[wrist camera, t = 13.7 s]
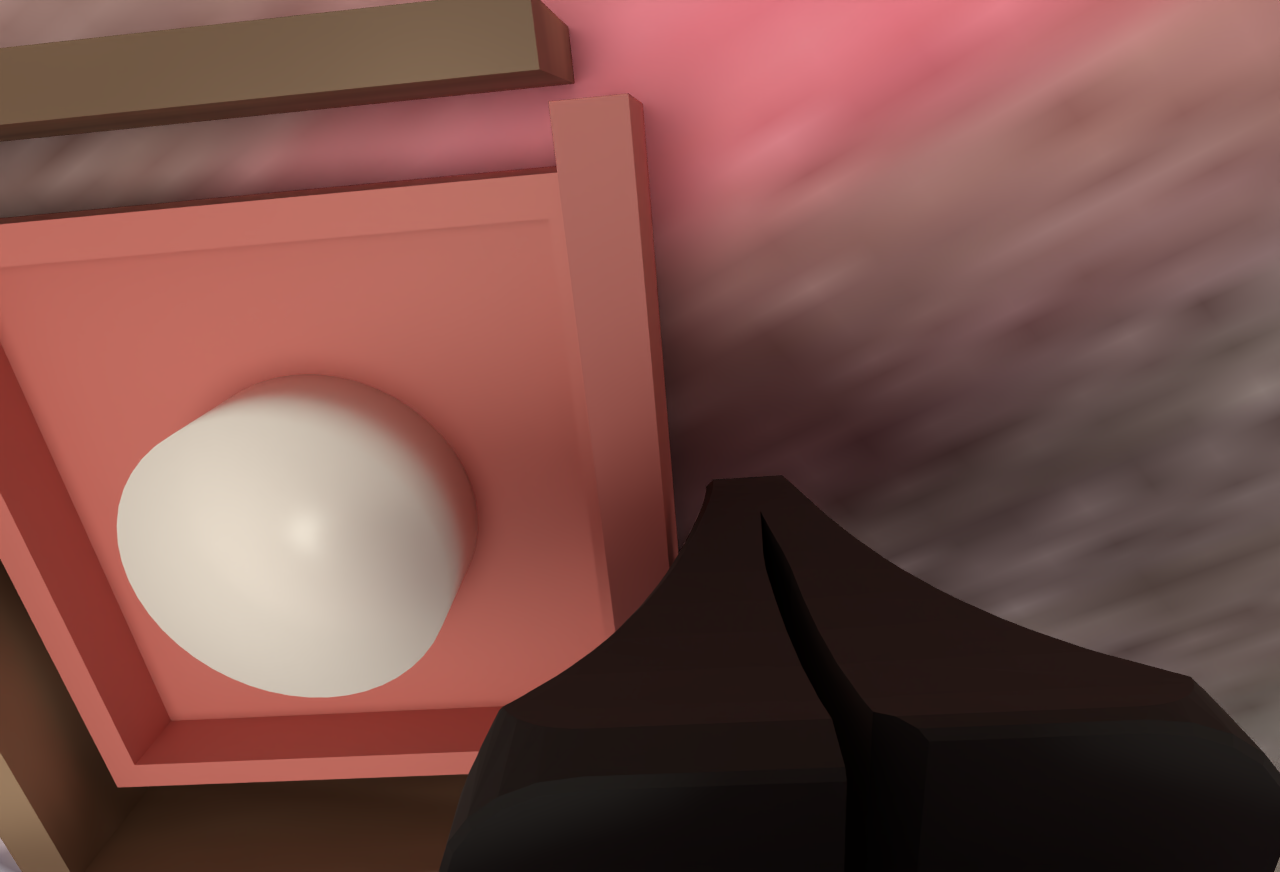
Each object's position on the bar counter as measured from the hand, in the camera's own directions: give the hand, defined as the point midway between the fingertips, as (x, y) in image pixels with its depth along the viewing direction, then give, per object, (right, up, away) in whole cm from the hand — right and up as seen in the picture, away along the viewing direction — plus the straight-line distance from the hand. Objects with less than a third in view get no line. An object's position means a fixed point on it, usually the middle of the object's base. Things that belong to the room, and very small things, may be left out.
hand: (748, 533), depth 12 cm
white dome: (-7, 0, +2) cm, 8 cm away
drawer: (-7, +1, +3) cm, 8 cm away
